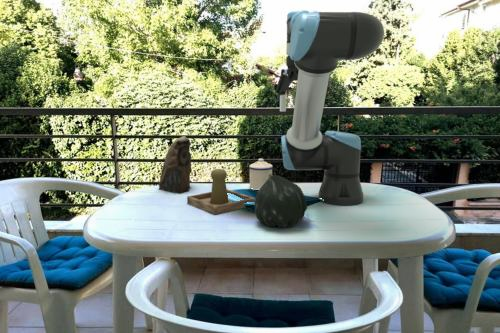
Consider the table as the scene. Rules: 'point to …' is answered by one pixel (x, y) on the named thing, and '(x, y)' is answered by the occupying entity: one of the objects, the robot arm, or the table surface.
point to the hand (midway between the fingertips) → (295, 112)
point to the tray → (204, 204)
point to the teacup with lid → (259, 173)
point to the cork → (219, 187)
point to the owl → (177, 167)
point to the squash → (280, 203)
